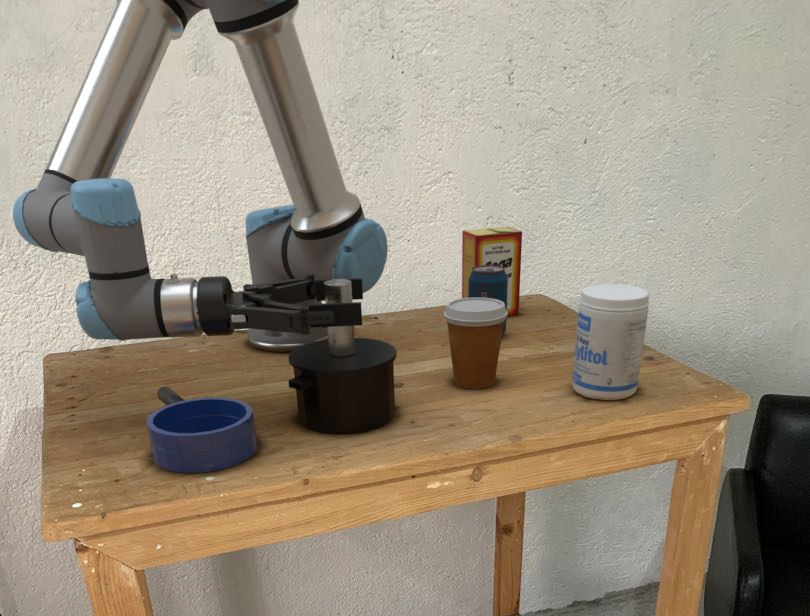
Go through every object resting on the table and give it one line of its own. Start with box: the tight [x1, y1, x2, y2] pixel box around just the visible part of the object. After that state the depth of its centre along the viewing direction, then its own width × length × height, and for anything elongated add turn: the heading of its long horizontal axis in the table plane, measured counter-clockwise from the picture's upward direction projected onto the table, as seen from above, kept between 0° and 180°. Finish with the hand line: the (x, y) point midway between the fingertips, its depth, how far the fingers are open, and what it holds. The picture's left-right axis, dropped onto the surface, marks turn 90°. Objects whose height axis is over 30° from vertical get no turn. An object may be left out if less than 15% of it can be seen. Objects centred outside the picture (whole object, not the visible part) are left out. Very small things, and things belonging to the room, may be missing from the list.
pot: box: [287, 361, 396, 435], centre depth 111 cm, size 14×19×8 cm
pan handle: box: [157, 385, 186, 406], centre depth 110 cm, size 10×2×2 cm, turn 32°
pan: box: [146, 396, 258, 474], centre depth 103 cm, size 13×13×5 cm
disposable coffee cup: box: [443, 297, 508, 390], centre depth 121 cm, size 10×10×12 cm
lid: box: [287, 279, 398, 375], centre depth 107 cm, size 15×15×11 cm
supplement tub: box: [571, 283, 650, 401], centre depth 115 cm, size 10×10×15 cm
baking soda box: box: [461, 226, 523, 317], centre depth 155 cm, size 10×6×16 cm
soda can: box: [468, 265, 508, 336], centre depth 143 cm, size 7×7×12 cm
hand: (362, 300), depth 105 cm, fingers open, 13 cm apart
